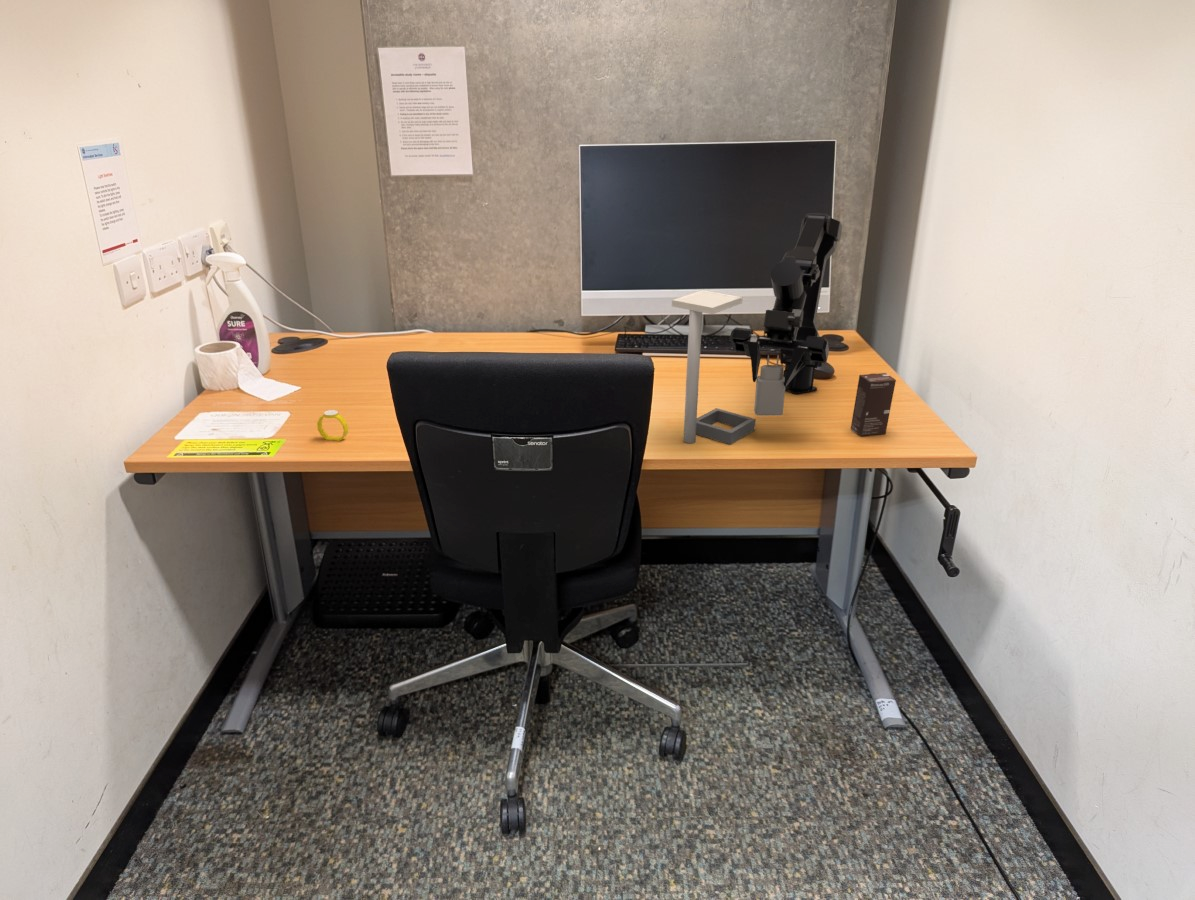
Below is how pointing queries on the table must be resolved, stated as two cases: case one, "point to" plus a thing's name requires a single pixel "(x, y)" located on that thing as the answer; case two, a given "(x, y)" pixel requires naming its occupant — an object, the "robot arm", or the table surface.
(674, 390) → the table surface
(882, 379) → the box
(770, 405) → the power adapter
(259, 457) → the table surface
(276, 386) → the table surface
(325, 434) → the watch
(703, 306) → the tall pedestal stand
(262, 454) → the table surface
